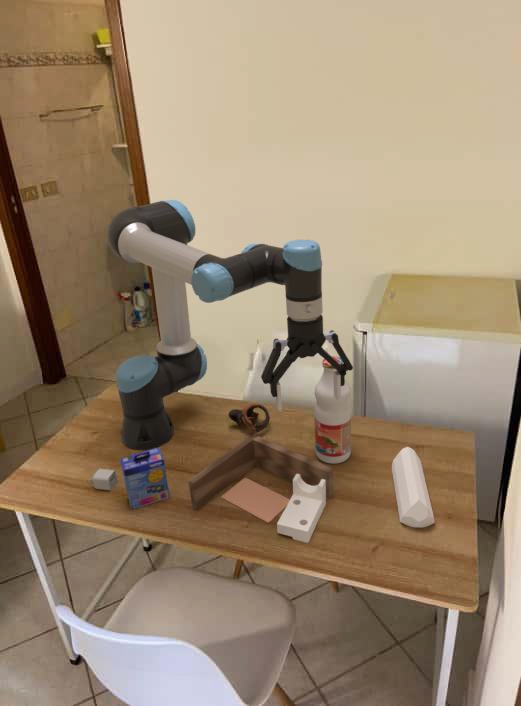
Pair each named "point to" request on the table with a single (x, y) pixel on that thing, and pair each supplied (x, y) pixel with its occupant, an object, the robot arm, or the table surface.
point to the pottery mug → (248, 412)
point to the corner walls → (262, 456)
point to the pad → (256, 500)
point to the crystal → (411, 490)
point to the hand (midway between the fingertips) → (308, 403)
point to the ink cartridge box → (145, 478)
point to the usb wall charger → (104, 479)
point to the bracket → (303, 510)
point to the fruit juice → (332, 418)
